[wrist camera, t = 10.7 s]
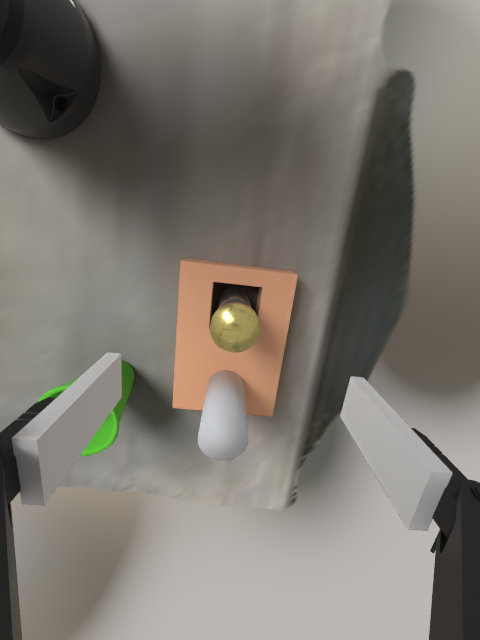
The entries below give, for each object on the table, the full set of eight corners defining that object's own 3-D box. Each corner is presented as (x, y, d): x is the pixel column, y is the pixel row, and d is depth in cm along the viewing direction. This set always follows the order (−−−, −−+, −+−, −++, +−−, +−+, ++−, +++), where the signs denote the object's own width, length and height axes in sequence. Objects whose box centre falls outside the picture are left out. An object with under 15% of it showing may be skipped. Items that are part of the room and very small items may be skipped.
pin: (219, 282, 36) (212, 301, 25) (254, 286, 36) (263, 307, 25) (215, 316, 37) (207, 350, 26) (249, 319, 38) (256, 354, 26)
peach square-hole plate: (186, 258, 35) (156, 269, 22) (291, 270, 36) (325, 289, 22) (178, 391, 41) (150, 466, 27) (268, 400, 41) (285, 477, 28)
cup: (154, 356, 39) (125, 399, 28) (141, 407, 41) (109, 464, 31) (92, 338, 38) (38, 376, 27) (82, 392, 40) (28, 445, 30)
